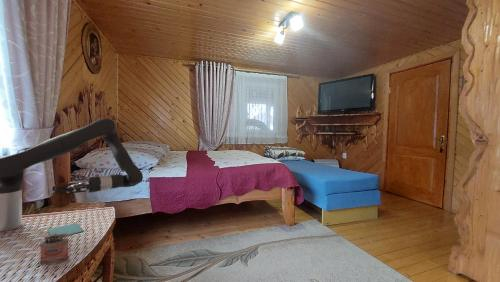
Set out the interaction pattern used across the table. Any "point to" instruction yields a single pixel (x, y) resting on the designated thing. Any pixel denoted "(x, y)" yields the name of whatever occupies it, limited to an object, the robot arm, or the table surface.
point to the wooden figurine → (61, 194)
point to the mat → (66, 229)
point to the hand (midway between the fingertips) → (53, 189)
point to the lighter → (54, 249)
